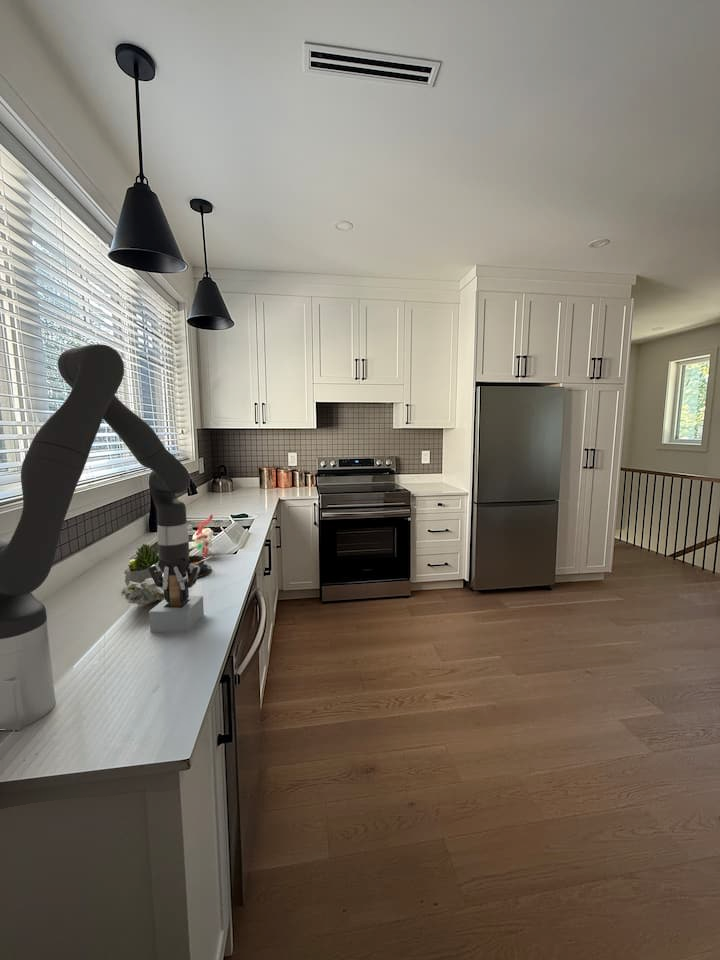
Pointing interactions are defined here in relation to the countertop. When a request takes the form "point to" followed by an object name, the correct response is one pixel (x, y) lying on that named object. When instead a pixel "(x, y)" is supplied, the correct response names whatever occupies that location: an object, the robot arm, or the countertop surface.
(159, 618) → the socket
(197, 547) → the anatomical model
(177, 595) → the peg
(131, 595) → the rock
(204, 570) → the soup bowl
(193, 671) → the countertop surface
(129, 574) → the potted plant
